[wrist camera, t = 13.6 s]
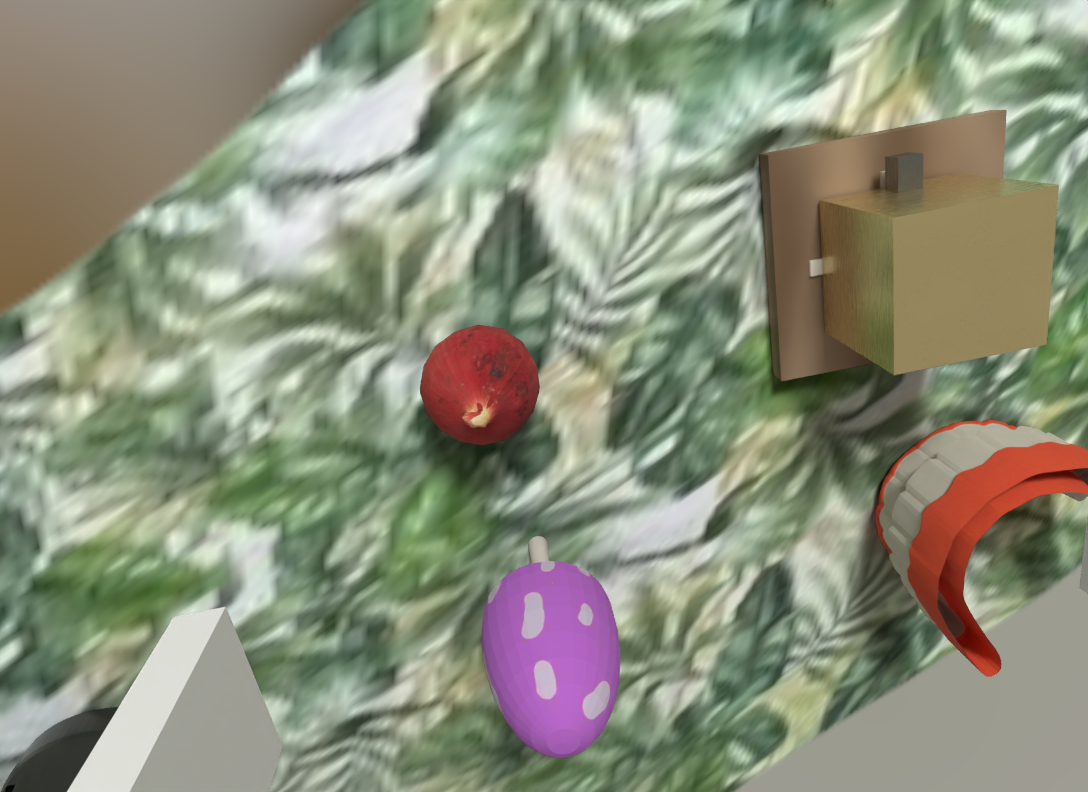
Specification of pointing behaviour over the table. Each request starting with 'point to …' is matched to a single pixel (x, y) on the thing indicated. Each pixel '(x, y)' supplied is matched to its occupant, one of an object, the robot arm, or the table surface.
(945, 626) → the toy
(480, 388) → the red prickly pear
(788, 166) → the flat board
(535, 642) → the toy
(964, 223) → the block with peg
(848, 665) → the table surface
